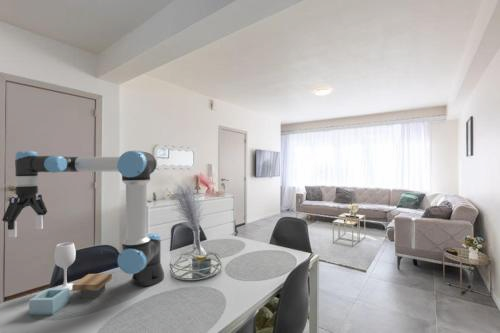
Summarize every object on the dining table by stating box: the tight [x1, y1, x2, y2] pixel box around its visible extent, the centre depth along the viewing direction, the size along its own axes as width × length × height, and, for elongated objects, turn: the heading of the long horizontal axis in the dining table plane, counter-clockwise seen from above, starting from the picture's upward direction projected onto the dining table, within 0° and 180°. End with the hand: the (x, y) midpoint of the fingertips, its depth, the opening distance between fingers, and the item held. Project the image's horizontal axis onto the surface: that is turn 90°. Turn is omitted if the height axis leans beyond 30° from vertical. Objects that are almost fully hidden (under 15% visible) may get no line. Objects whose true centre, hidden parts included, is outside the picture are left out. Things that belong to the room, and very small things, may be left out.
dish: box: [28, 288, 70, 316], centre depth 100 cm, size 9×9×6 cm
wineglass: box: [53, 241, 77, 292], centre depth 117 cm, size 9×9×21 cm
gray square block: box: [79, 284, 106, 298], centre depth 113 cm, size 7×7×4 cm
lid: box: [71, 273, 113, 292], centre depth 113 cm, size 11×11×2 cm
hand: (26, 232), depth 112 cm, fingers open, 13 cm apart
